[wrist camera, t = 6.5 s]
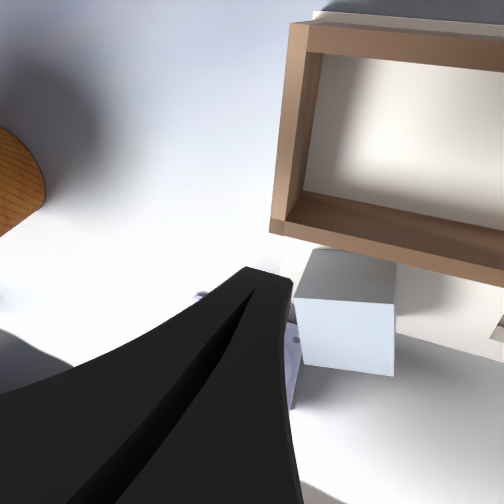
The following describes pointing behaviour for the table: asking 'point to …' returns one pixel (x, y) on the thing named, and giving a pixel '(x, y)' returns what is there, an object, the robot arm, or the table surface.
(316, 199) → the walnut cubby
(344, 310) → the white block
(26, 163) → the disposable coffee cup
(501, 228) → the deck
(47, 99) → the table surface
